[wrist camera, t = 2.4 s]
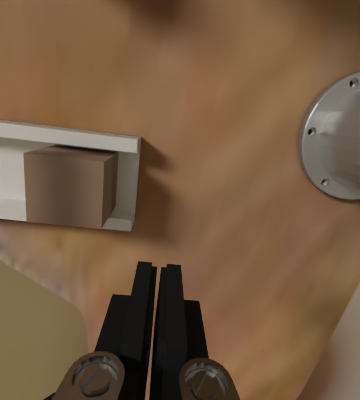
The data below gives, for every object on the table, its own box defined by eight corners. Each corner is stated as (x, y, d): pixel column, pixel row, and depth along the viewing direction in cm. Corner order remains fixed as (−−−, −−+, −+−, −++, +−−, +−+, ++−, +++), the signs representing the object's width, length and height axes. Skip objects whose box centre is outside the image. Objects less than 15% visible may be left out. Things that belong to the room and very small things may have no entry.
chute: (141, 137, 27) (137, 139, 24) (134, 219, 29) (130, 231, 26) (-70, 111, 25) (-103, 110, 22) (-58, 200, 28) (-86, 210, 25)
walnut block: (118, 152, 26) (104, 161, 20) (115, 206, 28) (101, 229, 22) (55, 144, 26) (23, 152, 20) (56, 199, 27) (26, 221, 22)
